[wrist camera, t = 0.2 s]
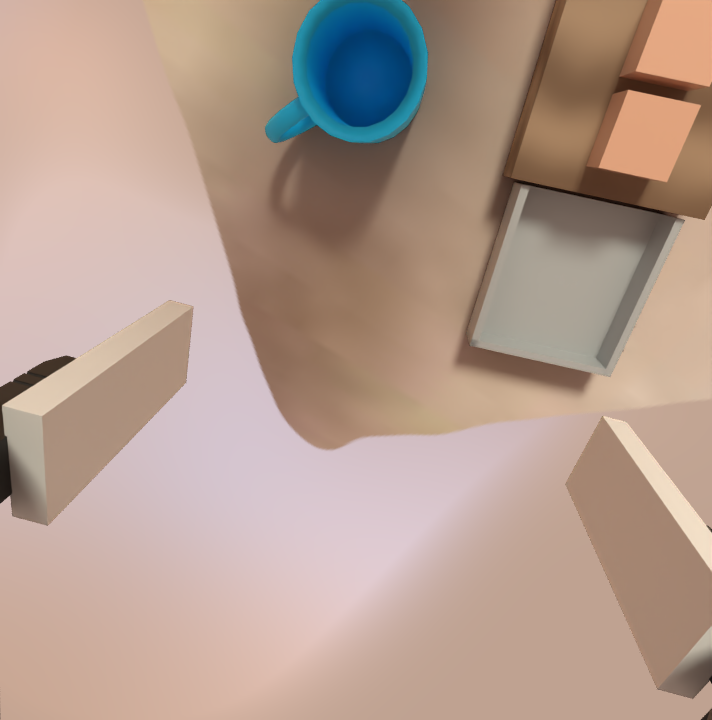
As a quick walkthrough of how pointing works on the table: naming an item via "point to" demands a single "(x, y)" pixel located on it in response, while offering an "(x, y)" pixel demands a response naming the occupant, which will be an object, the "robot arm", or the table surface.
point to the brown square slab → (601, 113)
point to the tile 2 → (672, 45)
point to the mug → (355, 72)
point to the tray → (569, 278)
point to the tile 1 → (642, 135)
